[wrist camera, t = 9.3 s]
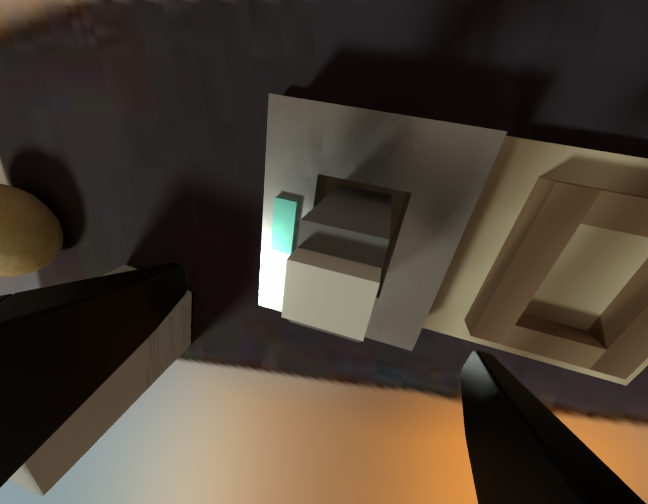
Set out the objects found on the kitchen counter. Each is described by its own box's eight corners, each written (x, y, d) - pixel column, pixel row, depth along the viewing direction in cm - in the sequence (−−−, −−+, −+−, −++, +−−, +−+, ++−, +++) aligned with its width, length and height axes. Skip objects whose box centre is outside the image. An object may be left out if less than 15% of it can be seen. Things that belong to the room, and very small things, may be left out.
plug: (391, 195, 14) (388, 252, 7) (373, 264, 16) (356, 362, 9) (339, 184, 15) (289, 228, 8) (327, 253, 17) (279, 338, 10)
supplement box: (124, 261, 23) (-121, 375, 12) (195, 291, 23) (2, 440, 12) (130, 319, 27) (-58, 449, 16) (192, 346, 26) (41, 503, 15)
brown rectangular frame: (738, 213, 11) (786, 223, 10) (604, 358, 15) (625, 379, 14) (538, 177, 12) (556, 181, 11) (464, 319, 16) (470, 335, 15)
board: (797, 184, 11) (833, 188, 10) (613, 372, 16) (626, 385, 15) (279, 100, 15) (271, 97, 14) (267, 275, 20) (261, 281, 19)
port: (486, 132, 12) (511, 131, 9) (409, 323, 17) (412, 356, 15) (289, 100, 14) (264, 91, 11) (274, 285, 19) (255, 308, 16)
